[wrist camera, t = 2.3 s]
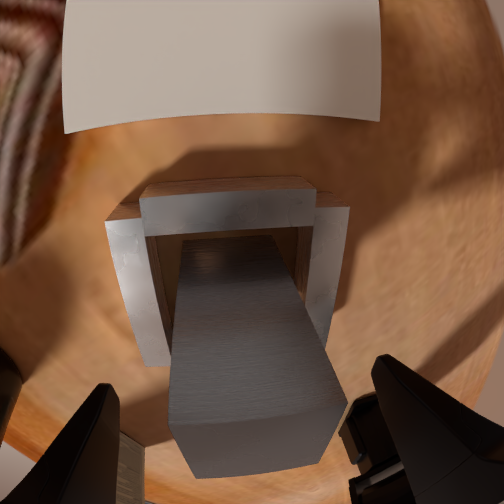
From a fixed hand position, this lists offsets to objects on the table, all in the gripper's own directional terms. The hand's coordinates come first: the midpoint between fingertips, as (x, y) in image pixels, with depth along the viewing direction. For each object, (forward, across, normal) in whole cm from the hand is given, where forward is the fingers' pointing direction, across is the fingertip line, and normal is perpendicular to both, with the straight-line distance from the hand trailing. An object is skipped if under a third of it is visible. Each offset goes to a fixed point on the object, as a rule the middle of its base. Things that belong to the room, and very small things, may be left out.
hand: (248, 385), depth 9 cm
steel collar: (+6, 0, 0) cm, 7 cm away
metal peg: (+6, 0, 0) cm, 7 cm away
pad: (+6, 0, -14) cm, 16 cm away
